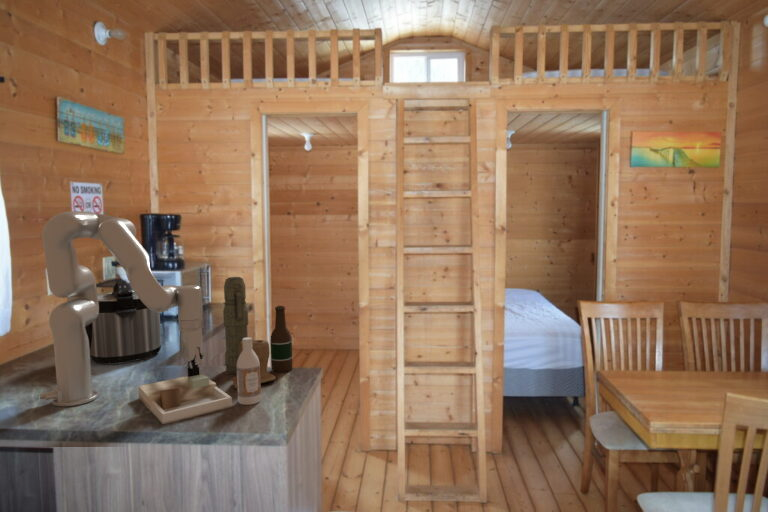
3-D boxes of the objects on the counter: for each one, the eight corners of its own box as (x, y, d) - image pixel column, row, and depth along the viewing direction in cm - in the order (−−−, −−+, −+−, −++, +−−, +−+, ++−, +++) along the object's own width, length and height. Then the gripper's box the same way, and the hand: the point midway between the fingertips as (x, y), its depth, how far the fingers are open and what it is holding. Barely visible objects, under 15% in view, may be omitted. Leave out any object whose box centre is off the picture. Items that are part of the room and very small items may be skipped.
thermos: (233, 376, 185) (229, 280, 182) (220, 369, 194) (216, 277, 191) (256, 371, 190) (252, 278, 187) (242, 364, 200) (239, 275, 197)
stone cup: (265, 374, 187) (264, 334, 186) (279, 383, 177) (278, 340, 176) (224, 383, 178) (222, 340, 177) (237, 392, 168) (235, 347, 167)
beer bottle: (283, 365, 198) (281, 303, 196) (296, 369, 193) (295, 306, 191) (267, 370, 192) (264, 306, 190) (280, 374, 187) (278, 309, 185)
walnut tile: (161, 407, 155) (163, 409, 153) (160, 391, 155) (162, 393, 153) (178, 403, 158) (180, 405, 156) (177, 387, 158) (180, 389, 156)
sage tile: (193, 388, 161) (192, 380, 161) (187, 384, 165) (187, 377, 164) (209, 385, 164) (208, 377, 164) (203, 381, 168) (203, 373, 168)
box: (163, 424, 143) (162, 414, 143) (150, 411, 153) (150, 401, 153) (232, 407, 156) (231, 397, 156) (216, 395, 166) (216, 386, 166)
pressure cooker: (113, 347, 230) (109, 276, 227) (175, 347, 228) (171, 276, 226) (68, 367, 200) (63, 286, 197) (138, 367, 198) (134, 286, 196)
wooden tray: (150, 411, 154) (149, 398, 153) (139, 398, 164) (138, 386, 164) (216, 395, 166) (216, 383, 166) (201, 384, 177) (201, 373, 177)
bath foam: (242, 407, 155) (239, 342, 154) (235, 400, 161) (232, 337, 160) (264, 402, 159) (261, 338, 158) (256, 395, 165) (254, 334, 163)
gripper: (171, 322, 170) (174, 376, 171) (186, 329, 158) (189, 387, 159) (194, 318, 174) (197, 371, 176) (211, 325, 163) (213, 382, 164)
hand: (193, 379), depth 168 cm, fingers closed
